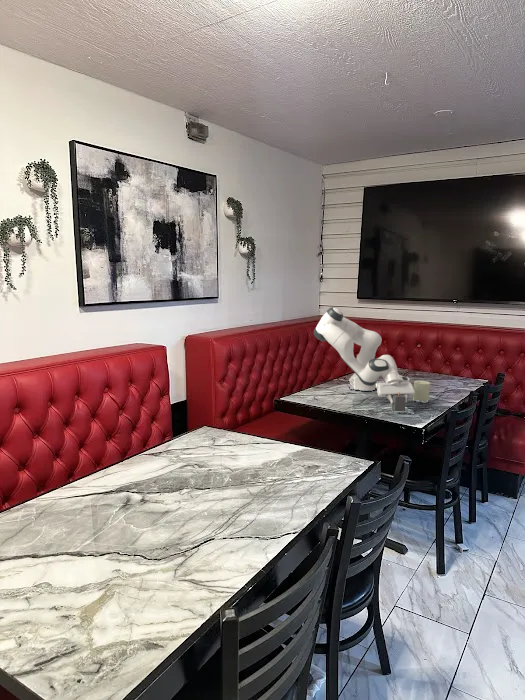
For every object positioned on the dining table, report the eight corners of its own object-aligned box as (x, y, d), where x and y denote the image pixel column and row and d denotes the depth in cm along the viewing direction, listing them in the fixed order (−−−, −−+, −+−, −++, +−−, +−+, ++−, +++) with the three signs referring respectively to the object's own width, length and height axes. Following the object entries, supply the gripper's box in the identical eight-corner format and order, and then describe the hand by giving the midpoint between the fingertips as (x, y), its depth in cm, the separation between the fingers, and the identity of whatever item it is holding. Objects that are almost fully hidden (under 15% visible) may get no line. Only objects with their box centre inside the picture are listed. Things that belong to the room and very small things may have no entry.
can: (409, 400, 273) (410, 380, 271) (420, 398, 277) (422, 379, 275) (420, 404, 265) (421, 383, 263) (432, 402, 269) (433, 382, 267)
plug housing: (391, 409, 249) (392, 391, 248) (401, 408, 250) (402, 391, 249) (394, 411, 245) (395, 393, 244) (404, 411, 246) (406, 393, 245)
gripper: (376, 378, 251) (382, 400, 242) (411, 377, 254) (419, 399, 246) (373, 384, 256) (379, 406, 248) (407, 383, 259) (414, 405, 251)
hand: (399, 402), depth 247 cm, fingers closed on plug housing, 6 cm apart
